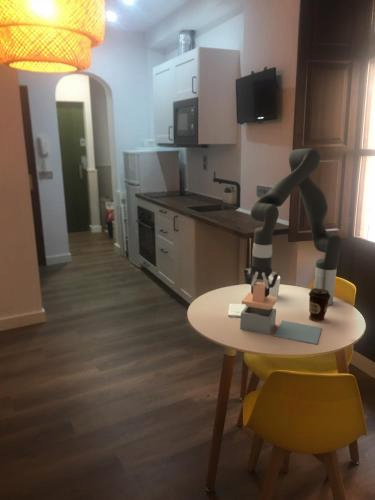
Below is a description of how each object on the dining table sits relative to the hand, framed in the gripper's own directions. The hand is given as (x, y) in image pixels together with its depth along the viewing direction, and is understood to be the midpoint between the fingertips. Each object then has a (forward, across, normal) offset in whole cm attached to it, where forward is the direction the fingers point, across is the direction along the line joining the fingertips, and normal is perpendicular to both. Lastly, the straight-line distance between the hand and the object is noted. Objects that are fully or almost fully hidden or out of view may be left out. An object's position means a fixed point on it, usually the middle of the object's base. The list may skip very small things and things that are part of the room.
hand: (259, 295), depth 165 cm
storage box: (+14, 0, 0) cm, 14 cm away
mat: (+14, -16, -2) cm, 21 cm away
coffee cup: (+14, -21, -18) cm, 31 cm away
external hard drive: (+15, +12, -11) cm, 22 cm away
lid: (+4, 0, 0) cm, 4 cm away
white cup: (+14, +3, -36) cm, 39 cm away
